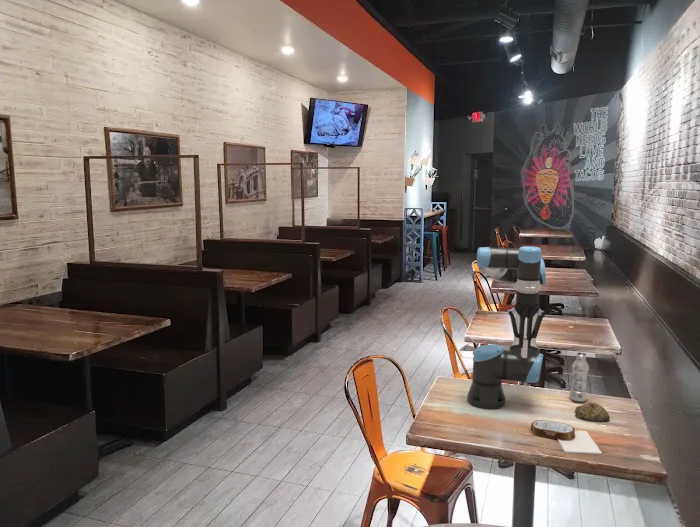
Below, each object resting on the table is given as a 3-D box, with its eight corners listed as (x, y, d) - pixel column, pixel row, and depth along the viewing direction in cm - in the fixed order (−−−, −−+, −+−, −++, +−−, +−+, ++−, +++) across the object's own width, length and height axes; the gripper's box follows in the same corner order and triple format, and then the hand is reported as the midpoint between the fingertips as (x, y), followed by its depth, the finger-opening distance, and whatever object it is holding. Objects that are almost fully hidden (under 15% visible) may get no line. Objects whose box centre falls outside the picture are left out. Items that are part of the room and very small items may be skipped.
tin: (573, 441, 192) (576, 433, 200) (573, 433, 192) (577, 424, 199) (528, 434, 200) (533, 426, 207) (528, 425, 200) (533, 417, 207)
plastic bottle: (585, 398, 232) (588, 352, 229) (587, 404, 225) (591, 357, 222) (568, 396, 234) (572, 350, 230) (570, 402, 227) (573, 355, 224)
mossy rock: (611, 424, 208) (612, 412, 207) (575, 420, 212) (576, 408, 211) (605, 410, 220) (606, 398, 220) (572, 407, 224) (573, 395, 223)
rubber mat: (564, 452, 187) (564, 451, 187) (552, 430, 203) (552, 429, 202) (601, 454, 186) (602, 452, 186) (586, 432, 202) (586, 430, 201)
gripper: (510, 293, 190) (507, 359, 194) (549, 294, 189) (545, 360, 193) (506, 288, 197) (503, 352, 201) (544, 289, 196) (540, 353, 200)
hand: (523, 356), depth 197 cm, fingers closed
